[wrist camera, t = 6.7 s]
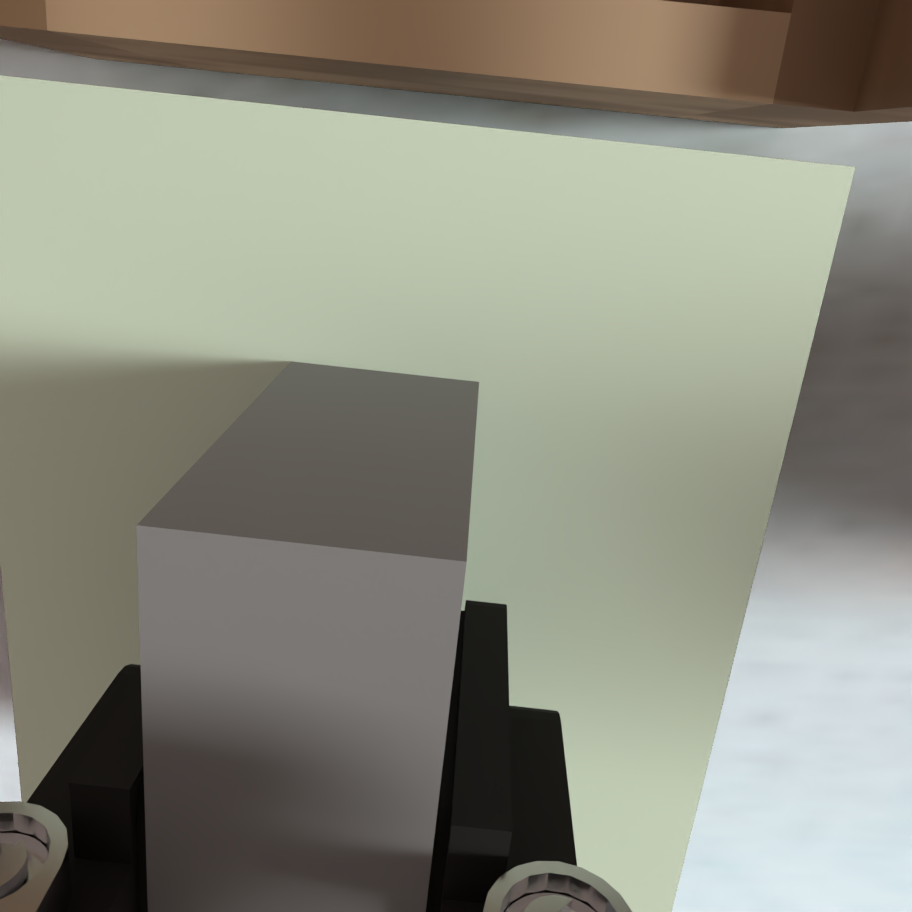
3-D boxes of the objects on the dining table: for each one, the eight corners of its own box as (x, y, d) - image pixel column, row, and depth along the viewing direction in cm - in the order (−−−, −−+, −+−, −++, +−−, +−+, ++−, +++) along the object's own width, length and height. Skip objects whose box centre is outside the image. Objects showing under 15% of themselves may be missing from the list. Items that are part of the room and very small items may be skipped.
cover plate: (824, 164, 11) (1182, 186, 5) (633, 976, 16) (711, 1448, 10) (2, 76, 11) (-531, 4, 5) (64, 911, 16) (-180, 1345, 10)
